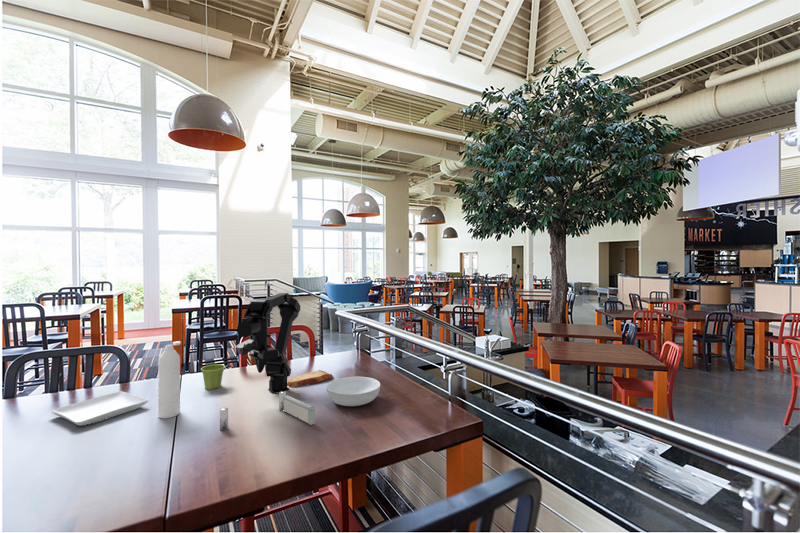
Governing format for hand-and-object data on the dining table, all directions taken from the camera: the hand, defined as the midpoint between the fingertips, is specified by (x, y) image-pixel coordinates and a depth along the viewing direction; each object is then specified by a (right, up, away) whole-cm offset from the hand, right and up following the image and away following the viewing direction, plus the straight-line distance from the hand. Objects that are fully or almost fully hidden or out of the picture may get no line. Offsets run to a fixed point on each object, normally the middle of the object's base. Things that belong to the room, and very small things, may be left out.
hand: (260, 372), depth 134 cm
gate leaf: (+18, -12, -13) cm, 25 cm away
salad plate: (-54, -13, -9) cm, 56 cm away
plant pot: (-28, -12, +18) cm, 35 cm away
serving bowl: (+36, -12, +2) cm, 38 cm away
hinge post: (+11, -12, -6) cm, 17 cm away
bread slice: (+13, -13, +26) cm, 32 cm away
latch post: (-3, -12, -21) cm, 24 cm away
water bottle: (-28, -12, -9) cm, 32 cm away
